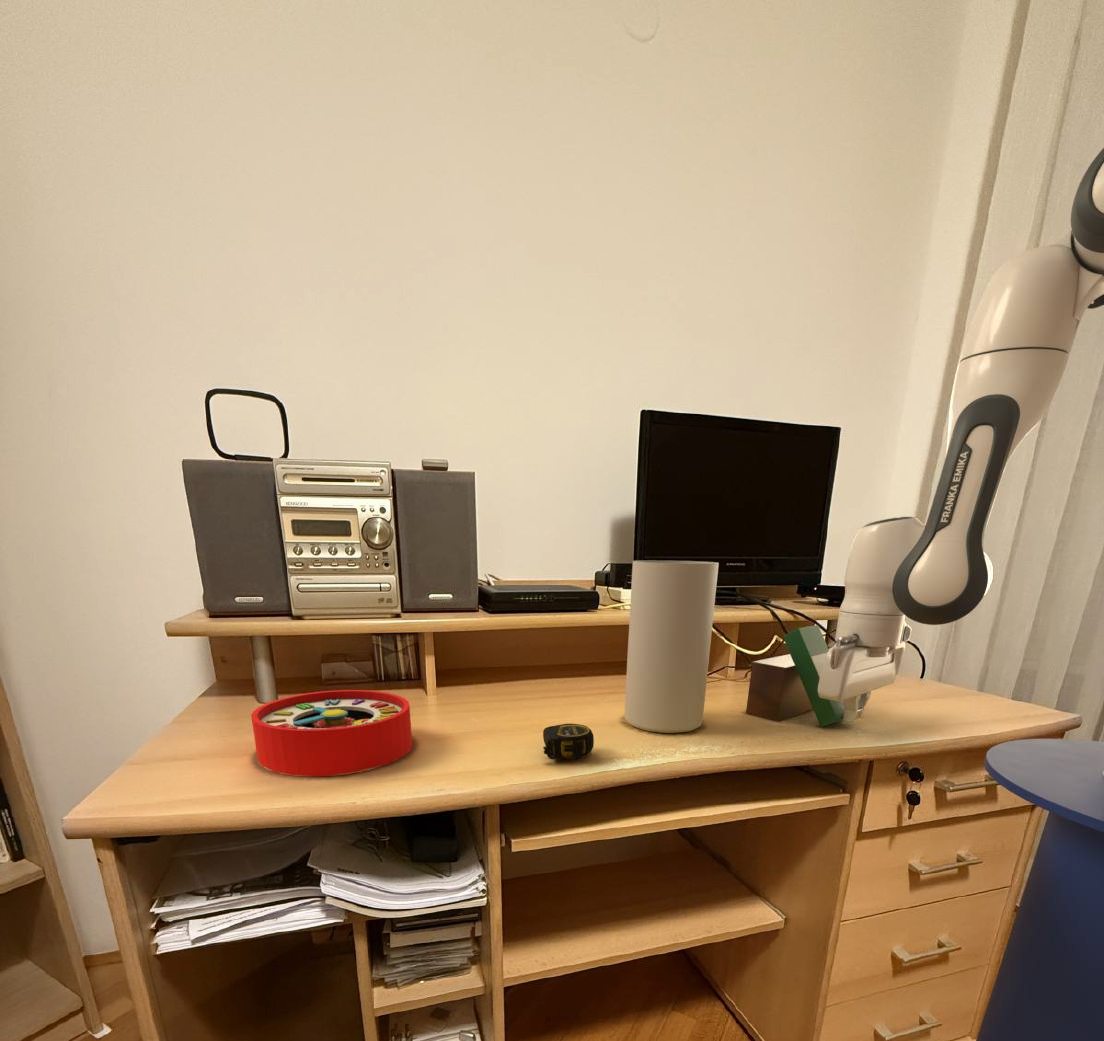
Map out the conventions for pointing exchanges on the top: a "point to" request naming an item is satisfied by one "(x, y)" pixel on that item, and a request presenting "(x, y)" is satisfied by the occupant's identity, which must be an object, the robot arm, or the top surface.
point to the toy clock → (332, 732)
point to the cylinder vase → (669, 644)
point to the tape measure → (568, 741)
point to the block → (776, 689)
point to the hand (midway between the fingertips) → (852, 719)
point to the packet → (813, 670)
